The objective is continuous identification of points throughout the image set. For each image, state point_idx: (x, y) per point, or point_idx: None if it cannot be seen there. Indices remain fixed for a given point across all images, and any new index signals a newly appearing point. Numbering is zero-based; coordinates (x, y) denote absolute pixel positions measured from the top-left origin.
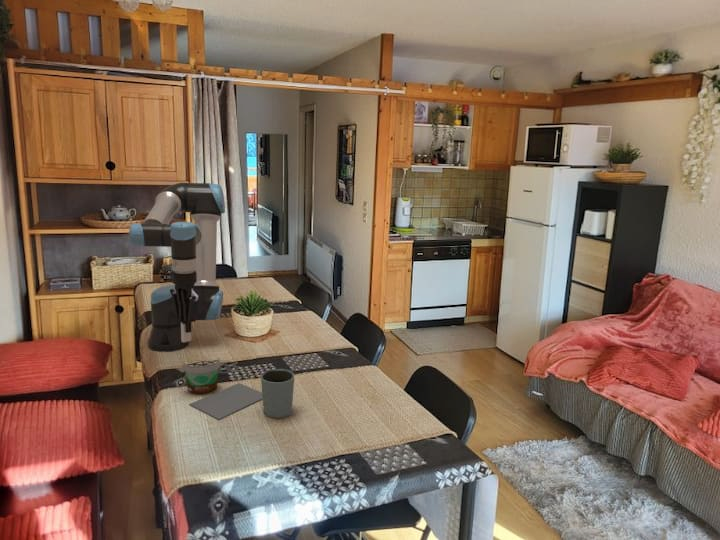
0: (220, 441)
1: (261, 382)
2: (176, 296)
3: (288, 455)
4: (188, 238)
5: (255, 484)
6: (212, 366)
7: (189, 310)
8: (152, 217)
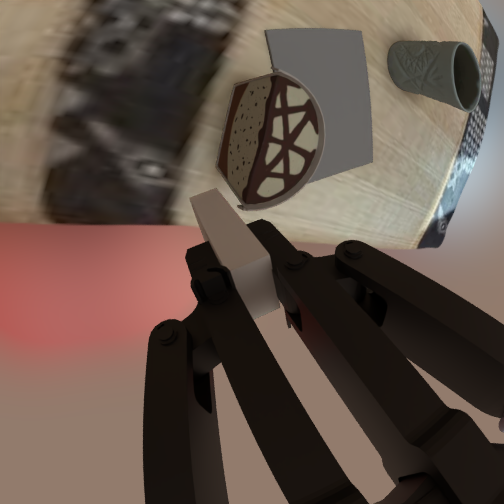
0: (404, 186)
1: (450, 102)
2: None
3: (453, 137)
4: None
5: (451, 190)
6: (322, 126)
7: (426, 358)
8: None
